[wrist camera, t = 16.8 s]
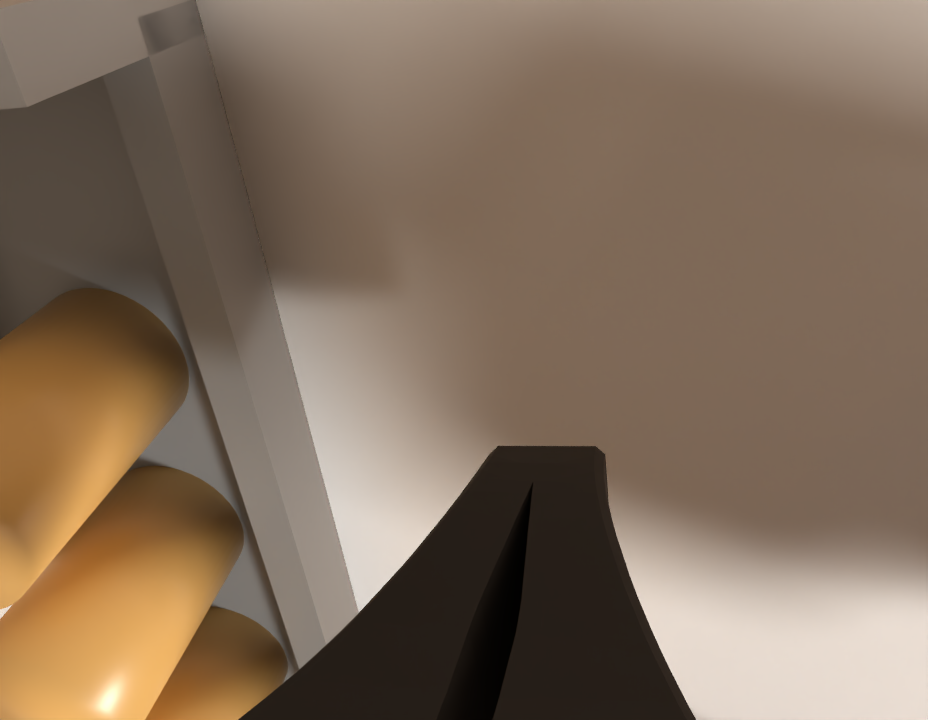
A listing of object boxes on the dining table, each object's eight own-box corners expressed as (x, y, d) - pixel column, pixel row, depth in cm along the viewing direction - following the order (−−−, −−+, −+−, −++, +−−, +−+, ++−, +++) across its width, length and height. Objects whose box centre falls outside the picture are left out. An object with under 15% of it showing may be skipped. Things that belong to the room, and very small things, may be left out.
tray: (188, -38, 13) (-88, 29, 8) (393, 738, 22) (323, 985, 17) (-159, 8, 14) (-567, 88, 9) (171, 718, 23) (48, 941, 18)
